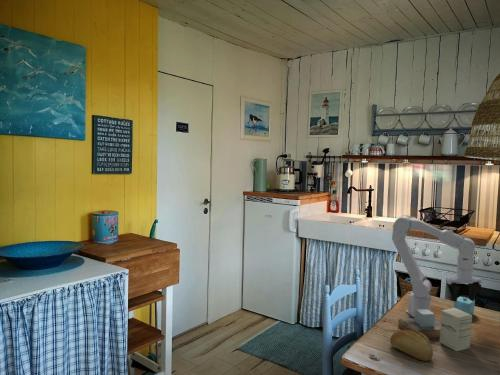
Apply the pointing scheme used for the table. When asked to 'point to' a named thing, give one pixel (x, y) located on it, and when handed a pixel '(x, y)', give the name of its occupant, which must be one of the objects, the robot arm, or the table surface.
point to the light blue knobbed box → (464, 305)
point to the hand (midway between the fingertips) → (462, 300)
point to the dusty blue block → (424, 317)
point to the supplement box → (455, 329)
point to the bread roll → (413, 343)
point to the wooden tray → (427, 331)
